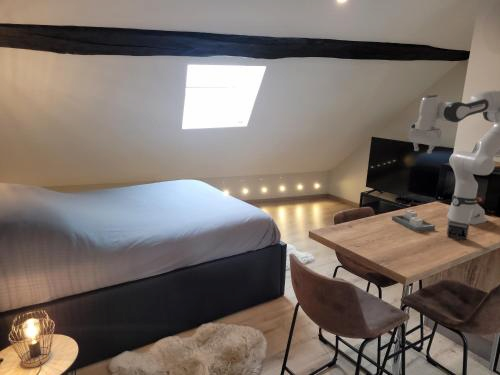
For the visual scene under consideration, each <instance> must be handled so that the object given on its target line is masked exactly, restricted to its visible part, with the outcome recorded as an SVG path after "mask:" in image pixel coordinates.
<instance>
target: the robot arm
mask: <svg viewBox="0 0 500 375" xmlns="http://www.w3.org/2000/svg"><path fill="white" fill-rule="evenodd" d="M418 110H419V111H418V113H419V117H418V120H417V121H416V122H415V123H414V122H413V123H412V124H410V126H409V128H410V130H409V133H408V141H409V142H411V143H413V147H414V149H413V150H414V151H415V152H419V149H420V147H419V144H423V145H428V149H427V150H426V154H432V151H433V149H435V147H440V146H441V145H442V130H441V129H440V128H439V127H436V124H437V121H443V122H445V121H447V122H451V123H460V122H461V121H463V120H464V119H465V118H467V117H469V116H472V115H473V116H474V115H475V114H482V115H483V119H484V120H485V121H488V122H491V123H494V124H493V126H492V127H491V128H490V129H489V130H488V131H487V132H485V134H484V135H483V136H482V137H481V138H480V139H478V141H477V142H476V148H477V150H476V152H468V151H455V152H453V153H452V154H451V155H450V157H449V160H448V163H449V166H450V167H451V168H452V170H453V173H454V178H455V184H454V185H455V186H454V192H453V194H452V196H451V197H452V198H451V204H450V207H449V210H448V212H447V214H446V218H447V219H449V220H455V221H461V222H466V223H469V224H470V225H474V226H475V225H479V224H483V223H487V222H486V221H488V222H490V219H489V218H488V217H486V216H485V215H486V212H485V209H484V208H483V207H482V206H481V205H480V204H479V203H478V202H482V198H481V197H477V194H478V189H479V188H478V187H479V183H478V182H477V180H476V179H475V176H474V175H477V176H488V175H490V174H491V173H492V172H493V171H494V169H495V168H496V167H495V163H496V162H495V161H494V158H495V155H496V154H497V153H498V152H499V151H500V90H496V89H495V90H494V89H493V90H485V91H480V92H478V93H474V94H472V95H471V96H470V97H469V99H468V101H467V103H464V102H463V101H462V102H461V101H453V102H452V101H445V100H444V99H441V98H440V96H439V94H438V95H437V94H429V95H425V96H423V98H422V99H421V101H420V106H419V109H418Z"/></svg>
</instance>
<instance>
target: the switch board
mask: <svg viewBox="0 0 500 375" xmlns="http://www.w3.org/2000/svg"><path fill="white" fill-rule="evenodd" d="M417 218H419V219H421V218H420V217H418V216H417ZM391 220H392V221H393V222H395V223H397V224H399V225H400V226H403V227H404V228H406V229H409V230H410V231H413V232H414V233H417V232H426V231H435V228H436V225H435V224H432V223H430V222H429V221H426V220H424V219H421V220H423V221H422V226H417V227H415V226H413V225H411V224H409V222H410V218H408V217H405V214H399V215H398V214H397V215H392V216H391Z"/></svg>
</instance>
